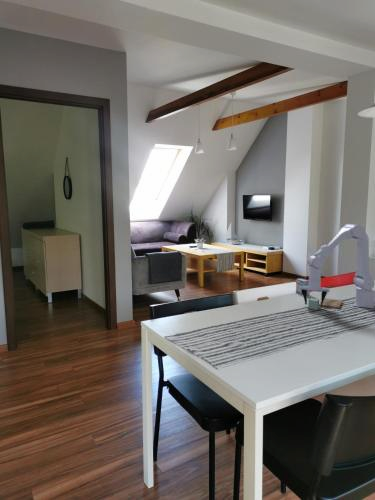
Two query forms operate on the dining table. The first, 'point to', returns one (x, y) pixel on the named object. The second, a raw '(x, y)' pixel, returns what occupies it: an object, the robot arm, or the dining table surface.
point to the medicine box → (301, 283)
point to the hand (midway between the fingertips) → (313, 304)
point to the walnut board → (331, 303)
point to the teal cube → (313, 303)
